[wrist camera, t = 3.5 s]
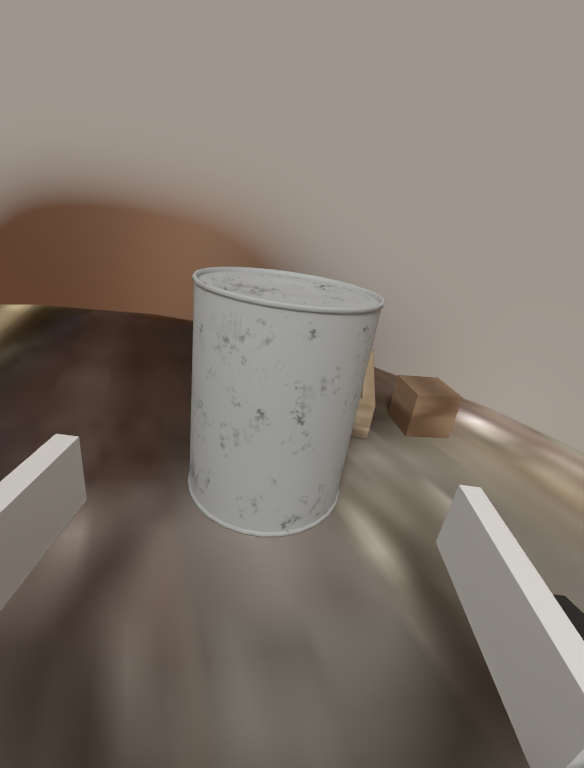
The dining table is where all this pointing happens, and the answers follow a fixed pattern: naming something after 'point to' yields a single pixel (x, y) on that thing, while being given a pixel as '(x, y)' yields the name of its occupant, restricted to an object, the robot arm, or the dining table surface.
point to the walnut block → (423, 406)
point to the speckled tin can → (274, 394)
